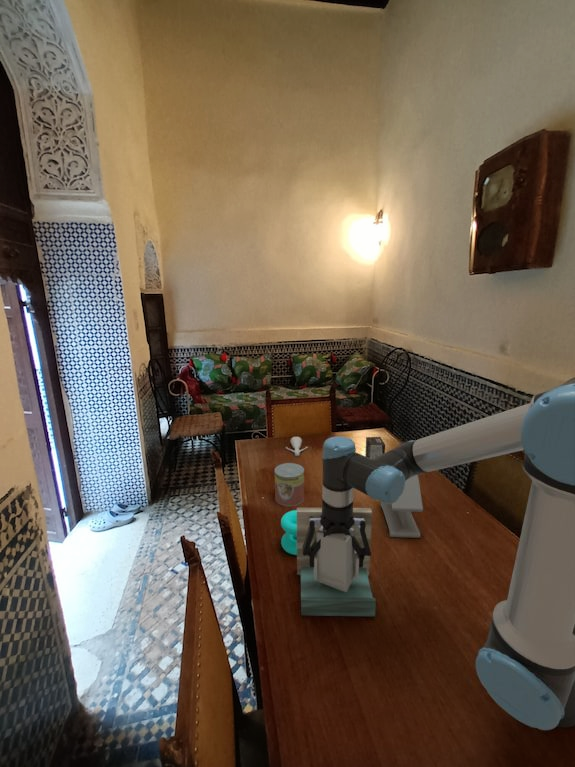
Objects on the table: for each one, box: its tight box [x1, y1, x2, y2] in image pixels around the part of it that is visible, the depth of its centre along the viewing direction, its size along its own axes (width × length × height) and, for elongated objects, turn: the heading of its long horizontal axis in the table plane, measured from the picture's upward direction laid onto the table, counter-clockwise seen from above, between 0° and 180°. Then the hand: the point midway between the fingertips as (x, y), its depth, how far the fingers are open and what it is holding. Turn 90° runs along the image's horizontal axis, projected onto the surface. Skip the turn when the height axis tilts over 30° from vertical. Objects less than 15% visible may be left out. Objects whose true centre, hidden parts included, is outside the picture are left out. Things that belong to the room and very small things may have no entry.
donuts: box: [280, 509, 297, 556], centre depth 111 cm, size 10×10×10 cm
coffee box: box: [364, 436, 386, 459], centre depth 153 cm, size 9×6×16 cm
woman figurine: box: [285, 436, 309, 457], centre depth 181 cm, size 12×4×18 cm
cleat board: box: [296, 507, 377, 617], centre depth 92 cm, size 15×20×20 cm
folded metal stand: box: [379, 475, 424, 539], centre depth 121 cm, size 18×10×20 cm, turn 176°
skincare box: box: [316, 526, 354, 592], centre depth 91 cm, size 8×6×15 cm
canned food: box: [274, 462, 305, 507], centre depth 137 cm, size 11×11×12 cm
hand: (335, 576), depth 92 cm, fingers closed on skincare box, 10 cm apart
